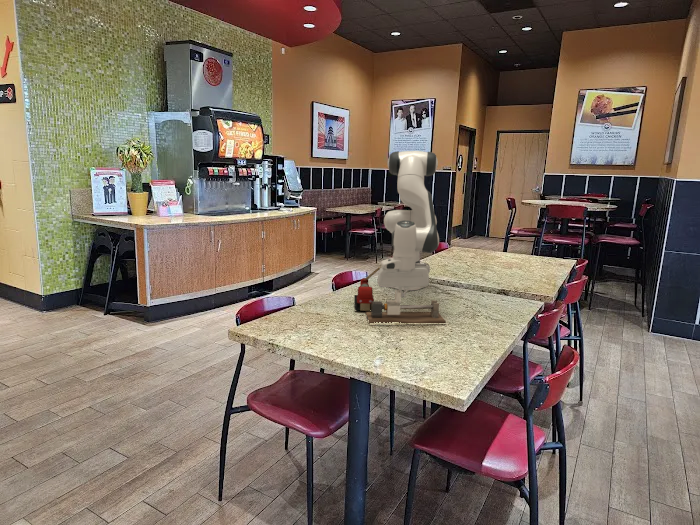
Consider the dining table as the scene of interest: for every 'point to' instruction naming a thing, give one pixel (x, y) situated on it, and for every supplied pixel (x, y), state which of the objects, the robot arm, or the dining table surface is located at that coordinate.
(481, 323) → the dining table surface
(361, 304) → the toy fire truck
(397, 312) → the sleeve
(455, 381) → the dining table surface
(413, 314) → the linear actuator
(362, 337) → the dining table surface
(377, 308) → the rod
